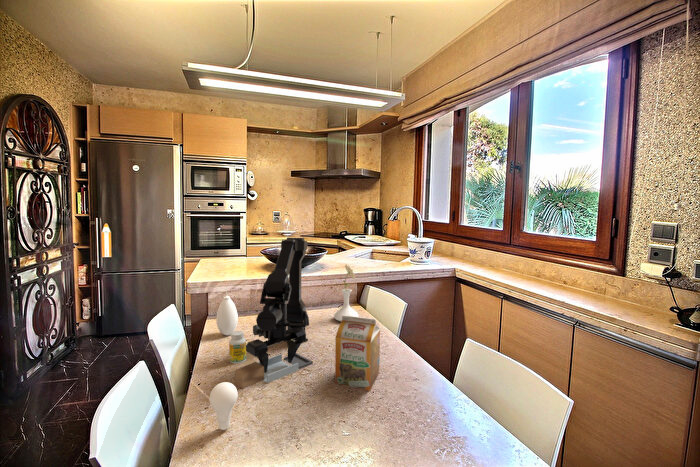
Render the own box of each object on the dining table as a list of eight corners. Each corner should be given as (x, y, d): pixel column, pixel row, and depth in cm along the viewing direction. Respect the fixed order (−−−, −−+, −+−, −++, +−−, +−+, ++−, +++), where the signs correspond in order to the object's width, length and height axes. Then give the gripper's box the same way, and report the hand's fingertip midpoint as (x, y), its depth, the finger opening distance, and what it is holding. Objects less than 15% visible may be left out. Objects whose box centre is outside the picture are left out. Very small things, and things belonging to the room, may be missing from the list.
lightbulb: (214, 421, 82) (213, 377, 81) (240, 420, 82) (240, 376, 81) (206, 438, 76) (205, 391, 75) (234, 437, 76) (233, 390, 75)
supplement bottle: (243, 355, 117) (243, 328, 116) (248, 361, 113) (248, 333, 112) (227, 359, 114) (227, 331, 114) (231, 366, 110) (231, 337, 109)
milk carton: (379, 373, 106) (380, 313, 104) (370, 390, 96) (371, 325, 94) (347, 367, 109) (347, 310, 108) (335, 384, 100) (335, 320, 98)
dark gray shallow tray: (296, 355, 118) (296, 352, 118) (312, 364, 111) (312, 361, 111) (283, 360, 114) (283, 357, 114) (300, 369, 108) (300, 366, 108)
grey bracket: (281, 361, 114) (280, 353, 113) (298, 371, 107) (298, 363, 107) (251, 372, 106) (251, 364, 106) (267, 384, 99) (267, 375, 99)
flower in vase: (358, 324, 149) (359, 268, 147) (332, 324, 149) (333, 267, 147) (358, 314, 162) (359, 262, 160) (334, 314, 162) (334, 262, 160)
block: (256, 373, 104) (255, 361, 104) (264, 379, 101) (263, 366, 101) (235, 383, 99) (234, 370, 99) (242, 389, 96) (241, 375, 96)
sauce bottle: (242, 332, 138) (241, 289, 136) (227, 339, 131) (226, 293, 129) (227, 329, 141) (226, 287, 140) (212, 336, 134) (211, 291, 133)
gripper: (286, 307, 118) (287, 350, 119) (236, 319, 104) (237, 368, 106) (307, 314, 110) (307, 361, 111) (255, 329, 97) (256, 381, 98)
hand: (277, 367), depth 107 cm, fingers open, 9 cm apart
